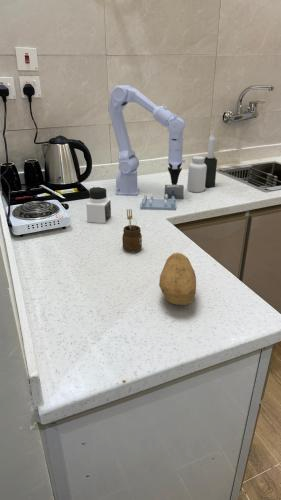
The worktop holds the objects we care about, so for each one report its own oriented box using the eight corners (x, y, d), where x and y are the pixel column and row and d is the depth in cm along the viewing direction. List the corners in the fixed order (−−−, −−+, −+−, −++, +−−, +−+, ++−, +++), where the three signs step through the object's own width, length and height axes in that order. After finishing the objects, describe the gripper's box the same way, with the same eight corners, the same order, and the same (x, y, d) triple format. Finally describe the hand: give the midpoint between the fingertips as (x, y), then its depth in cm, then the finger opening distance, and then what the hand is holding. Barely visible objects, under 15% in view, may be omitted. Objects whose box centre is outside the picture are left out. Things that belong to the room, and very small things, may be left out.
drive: (164, 199, 153) (164, 187, 150) (164, 195, 157) (164, 184, 154) (183, 199, 152) (183, 187, 150) (182, 196, 156) (183, 184, 154)
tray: (140, 209, 141) (140, 200, 140) (142, 200, 150) (142, 192, 149) (175, 210, 140) (175, 201, 139) (175, 201, 149) (176, 193, 147)
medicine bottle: (106, 223, 128) (104, 191, 123) (87, 222, 130) (84, 190, 124) (111, 216, 134) (110, 185, 129) (93, 215, 136) (91, 184, 130)
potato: (156, 315, 80) (157, 280, 76) (161, 279, 94) (162, 247, 90) (195, 317, 79) (198, 282, 75) (194, 281, 93) (196, 249, 89)
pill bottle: (206, 192, 160) (208, 159, 153) (188, 192, 160) (190, 159, 153) (203, 187, 167) (206, 155, 160) (186, 187, 167) (188, 155, 160)
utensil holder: (125, 254, 107) (124, 217, 101) (120, 245, 112) (119, 209, 107) (144, 252, 108) (144, 215, 103) (138, 243, 114) (138, 207, 108)
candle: (200, 185, 170) (204, 130, 159) (209, 184, 172) (214, 130, 161) (206, 188, 166) (211, 132, 155) (215, 186, 168) (220, 131, 156)
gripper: (185, 153, 138) (184, 187, 144) (185, 146, 151) (183, 177, 157) (167, 152, 139) (166, 186, 145) (168, 145, 152) (167, 177, 158)
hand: (174, 181), depth 151 cm, fingers open, 7 cm apart
